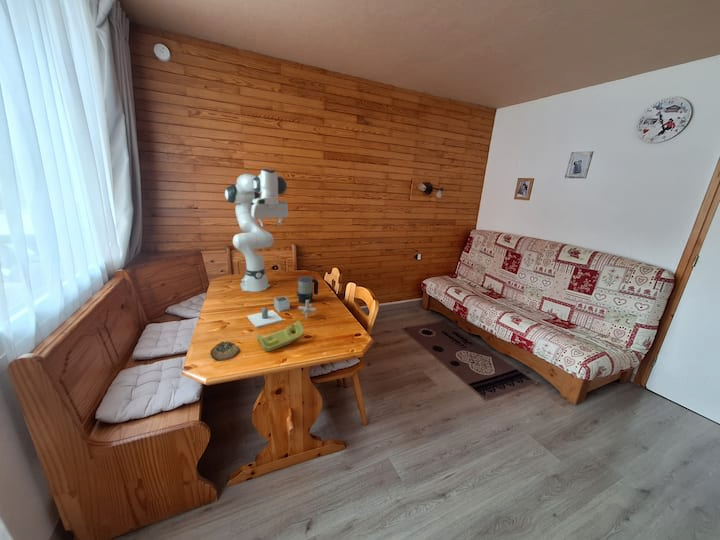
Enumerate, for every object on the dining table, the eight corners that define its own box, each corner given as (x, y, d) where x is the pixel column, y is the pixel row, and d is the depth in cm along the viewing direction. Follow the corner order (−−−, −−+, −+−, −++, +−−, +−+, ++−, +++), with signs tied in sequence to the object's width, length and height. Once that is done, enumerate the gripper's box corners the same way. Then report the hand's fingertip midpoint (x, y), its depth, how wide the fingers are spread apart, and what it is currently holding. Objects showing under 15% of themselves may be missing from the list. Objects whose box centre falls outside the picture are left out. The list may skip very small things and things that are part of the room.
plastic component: (265, 349, 117) (256, 331, 122) (264, 358, 121) (256, 341, 127) (307, 333, 128) (297, 317, 134) (305, 342, 133) (296, 327, 138)
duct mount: (247, 317, 149) (246, 307, 147) (272, 311, 157) (272, 301, 156) (256, 327, 138) (255, 317, 137) (282, 320, 147) (282, 310, 145)
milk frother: (306, 305, 168) (306, 282, 164) (286, 299, 175) (286, 277, 171) (320, 297, 180) (320, 276, 176) (301, 292, 187) (301, 271, 183)
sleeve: (274, 307, 162) (273, 298, 160) (284, 305, 166) (284, 296, 164) (278, 311, 157) (278, 302, 155) (289, 309, 161) (289, 299, 160)
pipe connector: (312, 322, 147) (312, 305, 144) (295, 319, 149) (294, 302, 146) (319, 314, 156) (319, 298, 154) (302, 312, 158) (302, 296, 155)
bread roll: (212, 347, 120) (213, 337, 119) (240, 347, 124) (241, 337, 123) (207, 363, 110) (208, 352, 109) (237, 362, 114) (238, 352, 113)
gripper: (285, 200, 159) (285, 224, 163) (249, 200, 146) (250, 226, 150) (290, 201, 155) (290, 225, 159) (253, 200, 142) (255, 227, 146)
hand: (271, 226), depth 154 cm, fingers open, 8 cm apart
